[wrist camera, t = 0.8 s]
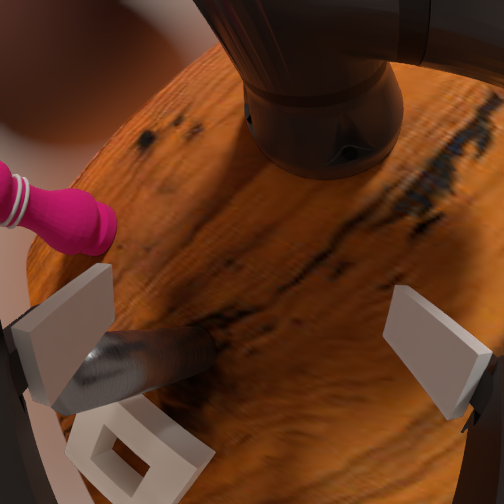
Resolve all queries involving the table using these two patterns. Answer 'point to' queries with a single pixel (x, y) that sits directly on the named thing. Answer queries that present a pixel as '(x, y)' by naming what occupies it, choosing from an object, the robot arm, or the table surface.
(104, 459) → the socket block
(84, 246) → the pepper mill
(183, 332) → the peg
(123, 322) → the table surface
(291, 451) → the table surface
